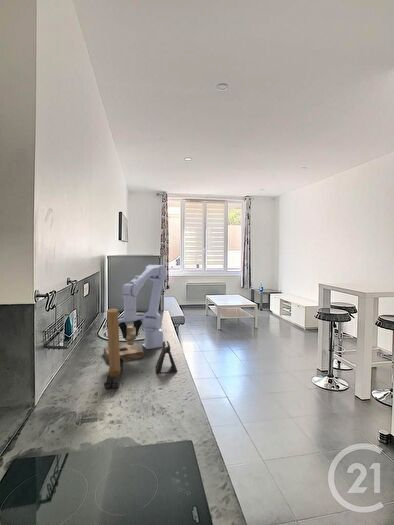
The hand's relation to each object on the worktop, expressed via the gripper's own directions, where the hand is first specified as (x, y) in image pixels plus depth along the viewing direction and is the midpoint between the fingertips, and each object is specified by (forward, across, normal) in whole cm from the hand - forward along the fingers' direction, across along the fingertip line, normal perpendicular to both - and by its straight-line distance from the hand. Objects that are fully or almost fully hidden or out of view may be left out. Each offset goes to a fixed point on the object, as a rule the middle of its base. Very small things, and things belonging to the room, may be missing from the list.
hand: (130, 337), depth 144 cm
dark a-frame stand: (+11, -6, +22) cm, 25 cm away
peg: (+3, 0, 0) cm, 3 cm away
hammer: (+11, +15, +19) cm, 26 cm away
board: (+10, +1, -5) cm, 12 cm away
